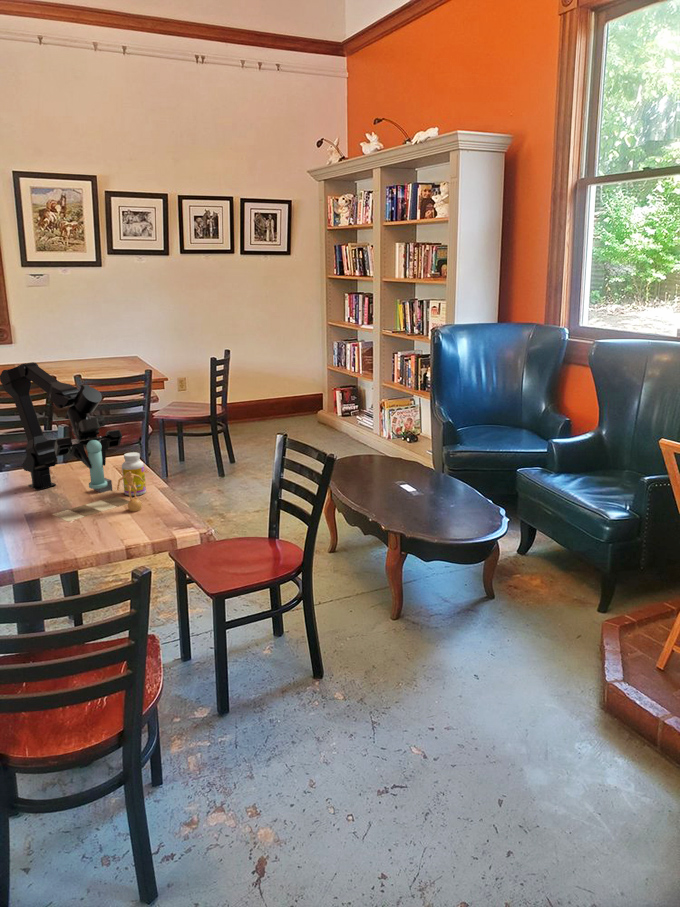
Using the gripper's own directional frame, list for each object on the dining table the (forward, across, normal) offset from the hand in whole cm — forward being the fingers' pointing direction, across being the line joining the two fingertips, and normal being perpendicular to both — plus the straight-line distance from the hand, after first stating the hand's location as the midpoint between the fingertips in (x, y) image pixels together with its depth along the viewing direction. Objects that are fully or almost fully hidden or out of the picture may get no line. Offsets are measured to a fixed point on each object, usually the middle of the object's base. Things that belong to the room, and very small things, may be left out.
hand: (97, 466), depth 199 cm
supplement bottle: (+4, +13, +15) cm, 21 cm away
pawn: (+4, 0, +6) cm, 7 cm away
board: (+9, -2, +10) cm, 13 cm away
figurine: (+15, +7, +4) cm, 17 cm away
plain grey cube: (-2, +6, +21) cm, 22 cm away
